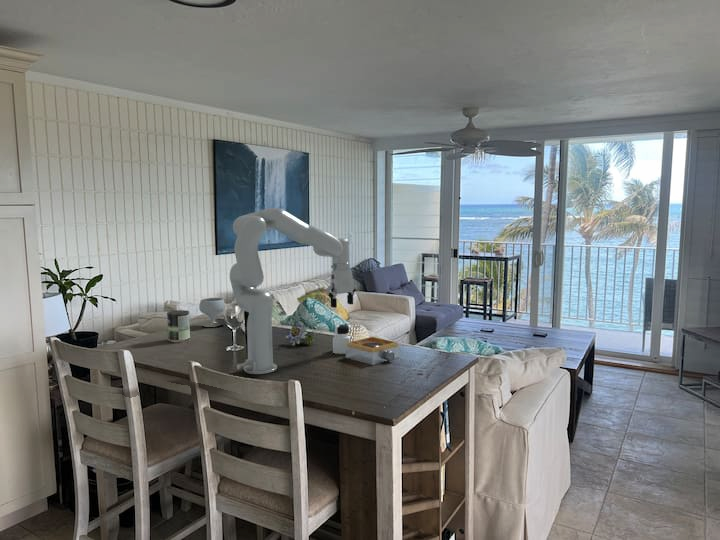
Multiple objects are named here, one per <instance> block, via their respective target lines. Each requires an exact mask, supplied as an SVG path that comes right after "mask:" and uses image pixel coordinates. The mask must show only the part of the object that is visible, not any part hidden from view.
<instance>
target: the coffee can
mask: <svg viewBox="0 0 720 540" xmlns="http://www.w3.org/2000/svg"><path fill="white" fill-rule="evenodd" d="M166 317H167V336H168V337H167V338H168V339H170V340H185V339H188V338H190V339H191V334H190V333H191V331H190V330H191V329H190V311H189V310H183V309H181V310H180V309H179V310H173V311H172V310H171V311H168V312H167V313H166Z"/></svg>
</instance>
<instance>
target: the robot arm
mask: <svg viewBox="0 0 720 540" xmlns="http://www.w3.org/2000/svg"><path fill="white" fill-rule="evenodd" d="M232 230H233V232H234V234H235V235H236V236H237V238H236V239H235V243H234V255H235V261H236V263H235V264H233V266H231V268H230V272H229V281H230V285H231V287H232V288H231V289H232V292H233V296H234V299H235V302H236V305H237V306H238V308H239V309H240V310H242V311H244V312H247V313H248V317H247V320H246V321H247V322H246V334H247V335H246V336H247V339H246V340H247V358H246V359H245V361H244V362H243V363H238V364H236V369H237V370H242V369H243V370H244V373H246V374H250V375H264V374H271V373H272V372H275V371H276V370H278V365H277V364H275V363H274V357H273V356H274V353H273V350H274V349H273V325H272V324H273V313H274V299H273V297H272V295H271V294H270V293H269V292H268V291H266V290H264V289H259V288H258V287H260V286H261V285H263V282H264V279H265V276H264V271H263V268H262V264H261V259H260V255H259V249H258V247H259V243H260V240H261V238H262V237H263V235H264V234H265V233H266V231H268V230H269V231H270V230H273V231H277V232H279V234H282V235H283V236H285V237H287V238H289V239H290V240H292V241H294V242H296V243H299V244H302V245H307V246H311V247H312V250H313V252H314V254H316V255H317V256H319V257H328V258H329V257H330V258H331V264H332V265H330V267H331V269H332V270H331V272H330V283H329V284H330V285H329V286H327V288H325V292H326V294H327V296H328V298H329V299H330V307H331V308H334V309H336V308H337V306H338V305H337V304H338V303H337V300H338V299H337V296H338V295H340V294H346V293H347V296H346V301H347V302H346V303H347V304H348V305H354V295H355V293H356V289H357V287H358V284H356V283H354V277H353V272H352V269H350V268H351V266H350V265H351V263H350V241H349V239H348V238H344V237H343V238H340V237H339V238H336V237H335V236H333V235H332V234H330V233H328V232H326V231H325V230H322V229H321V228H317V227H315V226H314V225H311V224H308V223H306V222H304V221H303V220H301V219H299V218H298V217H296V216H294V215H293V214H291V213H290V212H288V211H287V210H285V209H282V208H279V207H276V208H275V207H274V208H272V207H271V208H265V209H261V210H257V211H253V212H252V213H246V214H244V215H240V216H238V217H237V218H236V219H235V220H234V221H233V224H232Z"/></svg>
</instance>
